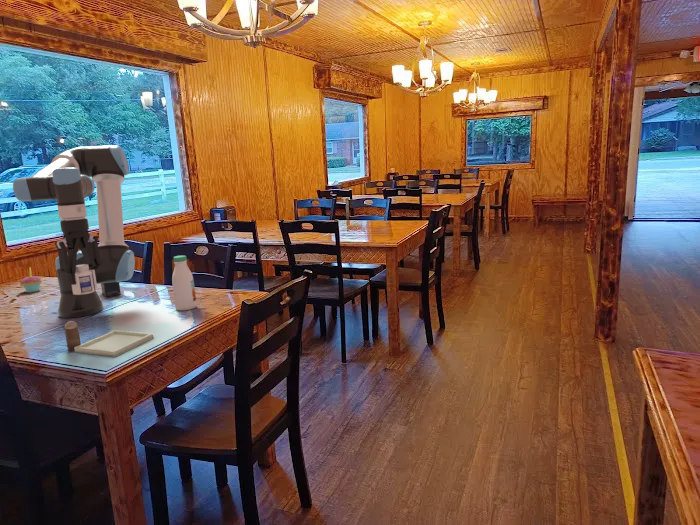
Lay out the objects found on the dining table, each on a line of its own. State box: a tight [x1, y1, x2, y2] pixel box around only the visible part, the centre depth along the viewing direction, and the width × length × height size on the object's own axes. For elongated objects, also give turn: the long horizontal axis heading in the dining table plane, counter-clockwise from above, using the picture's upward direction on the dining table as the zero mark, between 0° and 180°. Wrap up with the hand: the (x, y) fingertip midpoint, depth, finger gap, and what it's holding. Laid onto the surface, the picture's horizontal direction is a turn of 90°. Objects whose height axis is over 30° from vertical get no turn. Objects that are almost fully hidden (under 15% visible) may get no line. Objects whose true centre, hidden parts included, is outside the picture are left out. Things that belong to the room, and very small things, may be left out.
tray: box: [74, 329, 154, 358], centre depth 154 cm, size 16×16×2 cm
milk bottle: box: [171, 255, 197, 311], centre depth 188 cm, size 8×8×20 cm
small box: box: [100, 282, 121, 298], centre depth 218 cm, size 11×6×10 cm, turn 34°
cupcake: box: [19, 267, 43, 293], centre depth 231 cm, size 9×8×12 cm
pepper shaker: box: [64, 320, 82, 352], centre depth 152 cm, size 4×4×9 cm
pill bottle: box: [75, 264, 96, 295], centre depth 159 cm, size 5×5×9 cm
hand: (85, 291), depth 159 cm, fingers closed on pill bottle, 5 cm apart
